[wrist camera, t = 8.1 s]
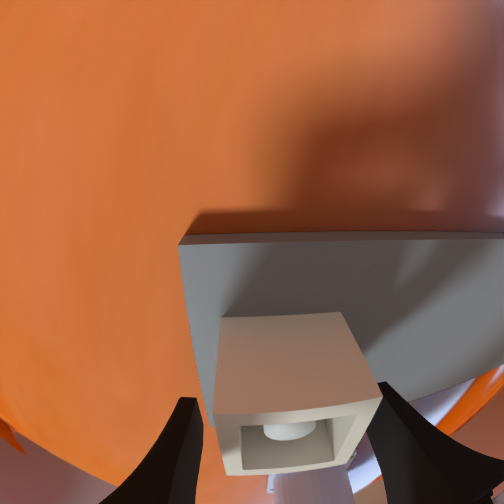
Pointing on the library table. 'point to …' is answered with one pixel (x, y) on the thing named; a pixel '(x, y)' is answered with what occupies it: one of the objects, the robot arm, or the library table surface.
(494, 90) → the library table surface
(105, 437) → the library table surface
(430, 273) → the base board
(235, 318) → the collar
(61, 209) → the library table surface
